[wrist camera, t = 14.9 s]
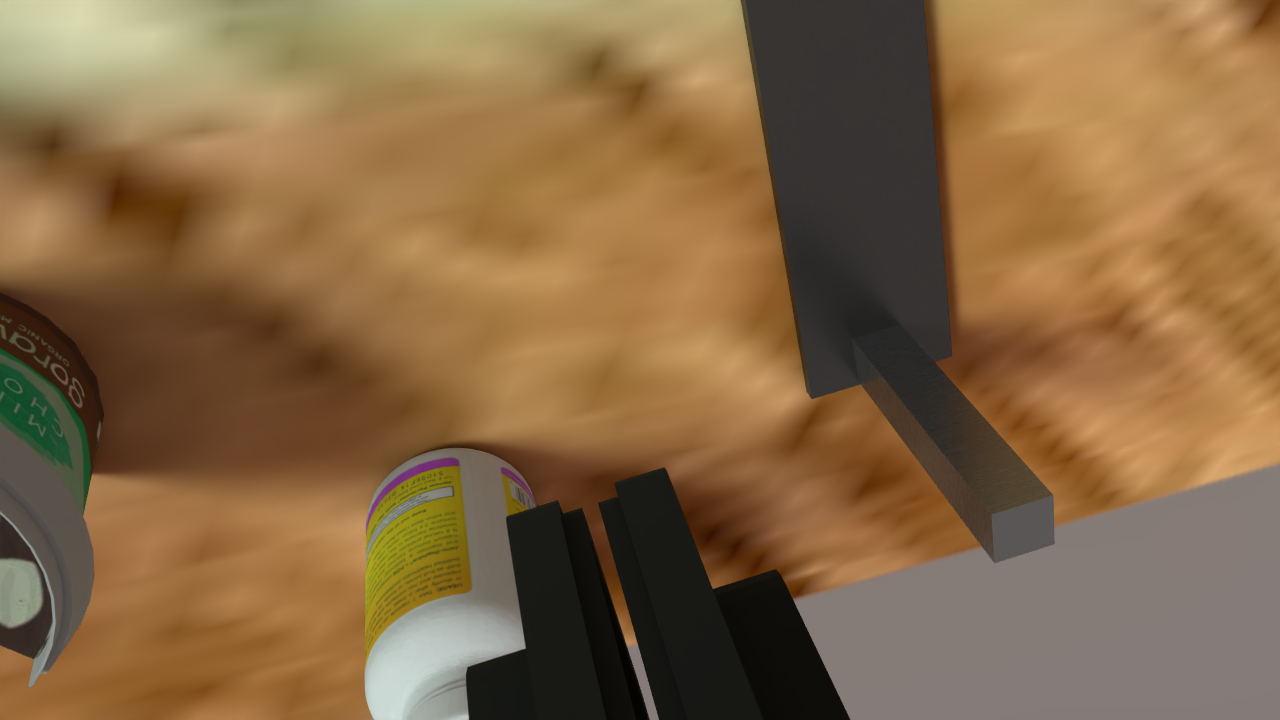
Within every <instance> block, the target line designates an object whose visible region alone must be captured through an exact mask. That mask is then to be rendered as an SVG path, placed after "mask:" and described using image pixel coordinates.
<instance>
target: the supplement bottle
mask: <svg viewBox="0 0 1280 720" xmlns="http://www.w3.org/2000/svg"><path fill="white" fill-rule="evenodd" d="M535 507H536V503H535V500H534V497H533V494H532V491H531V489H530V487H529V485H528V484H527V482H526V481H525V479H524V478H523V477H522V475H521V474H520V473H519V472H518V471H517V470H516V469H515V468H514V467H513V466H511V465H510V464H509V463H507V462H506V461H504V460H502V459H500V458H499V457H496V456H494V455H492V454H489V453H486V452H483V451H479V450H474V449H467V448H445V449H439V450H434V451H430V452H426V453H424V454H421V455H418V456H416V457H414V458H412V459H410V460H408V461H406V462H404V463H403V464H401V465H400V466H398V467H397V468H396V469H394V470H393V471H392V472H391V473H390V474H389V475H388V476H387V477H386V478H385V479H384V480H383V482H382V483H381V484H380V486H379V487H378V488H377V490H376V492H375V494H374V496H373V498H372V500H371V503H370V506H369V510H368V515H367V523H366V586H365V693H366V699H367V703H368V706H369V709H370V712H371V714H372V716H373V718H374V720H469V715H468V703H467V691H466V671H467V667H469V666H472V665H475V664H478V663H481V662H485V661H488V660H491V659H494V658H497V657H500V656H503V655H507V654H510V653H513V652H516V651H519V650H522V649H526V647H525V641H524V634H523V628H522V621H521V615H520V608H519V602H518V596H517V589H516V583H515V576H514V570H513V563H512V557H511V550H510V544H509V538H508V531H507V524H506V516H509V515H512V514H515V513H518V512H522V511H525V510H528V509H531V508H535Z"/></svg>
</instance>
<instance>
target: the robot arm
mask: <svg viewBox="0 0 1280 720" xmlns="http://www.w3.org/2000/svg"><path fill="white" fill-rule="evenodd" d="M615 487H616V491H617V494H618V497H616V498H612V499H609V500H606V501H603V502H599V503H598V504H599V508H600V511H601V515H602V518H603V522H604V525H605V529H606V532H607V536H608V540H609V543H610V547H611V550H612V554H613V557H614V561H615V564H616V568H617V572H618V575H619V579H620V582H621V586H622V589H623V593H624V596H625V600H626V604H627V607H628V611H629V614H630V618H631V621H632V625H633V628H634V632H635V636H636V639H637V643H638V646H639V650H640V653H641V657H642V660H643V664H644V667H645V671H646V674H647V678H648V682H649V685H650V689H651V692H652V696H653V700H654V703H655V706H656V710H657V714H658V717H659V720H850V718H849V716H848V714H847V712H846V710H845V708H844V705H843V704H842V701H841V699H840V697H839V695H838V693H837V691H836V689H835V687H834V685H833V683H832V680H831V678H830V676H829V674H828V672H827V670H826V668H825V666H824V664H823V662H822V659H821V657H820V655H819V653H818V651H817V649H816V647H815V645H814V643H813V641H812V639H811V636H810V635H809V632H808V630H807V628H806V626H805V624H804V622H803V620H802V618H801V616H800V613H799V611H798V609H797V608H796V605H795V603H794V601H793V599H792V597H791V595H790V592H789V590H788V588H787V586H786V584H785V582H784V581H783V579H782V577H781V575H780V573H779V572H778V571H777V570H776V569H775V570H772V571H769V572H766V573H762V574H759V575H756V576H753V577H750V578H747V579H744V580H740V581H737V582H734V583H731V584H728V585H725V586H721V587H718V588H715V589H712V586H711V584H710V581H709V578H708V576H707V573H706V571H705V568H704V566H703V563H702V560H701V558H700V555H699V553H698V550H697V548H696V545H695V542H694V540H693V537H692V535H691V532H690V530H689V527H688V524H687V522H686V519H685V517H684V514H683V512H682V509H681V506H680V504H679V501H678V499H677V496H676V494H675V491H674V488H673V486H672V483H671V481H670V478H669V476H668V473H667V471H666V469H665V467H664V468H661V469H658V470H655V471H651V472H648V473H645V474H642V475H638V476H635V477H632V478H629V479H625V480H622V481H619V482H616V483H615ZM506 524H507V531H508V538H509V544H510V550H511V557H512V563H513V570H514V576H515V583H516V589H517V596H518V602H519V608H520V615H521V621H522V628H523V634H524V641H525V647H526V649H522V650H519V651H516V652H513V653H510V654H507V655H503V656H500V657H497V658H494V659H491V660H488V661H485V662H481V663H478V664H475V665H472V666H469V667H467V671H466V691H467V703H468V715H469V720H649V716H648V713H647V709H646V706H645V702H644V699H643V696H642V692H641V689H640V686H639V683H638V679H637V676H636V673H635V670H634V667H633V664H632V661H631V658H630V655H629V652H628V648H627V645H626V642H625V639H624V636H623V633H622V630H621V627H620V624H619V621H618V617H617V614H616V611H615V608H614V605H613V602H612V599H611V596H610V593H609V590H608V586H607V583H606V580H605V577H604V574H603V571H602V568H601V565H600V562H599V559H598V555H597V552H596V549H595V546H594V543H593V540H592V537H591V534H590V531H589V528H588V524H587V521H586V518H585V515H584V512H583V510H582V508H580V509H577V510H574V511H570V512H567V513H564V514H563V513H562V510H561V507H560V505H559V502H558V501H554V502H551V503H548V504H544V505H541V506H538V507H535V508H531V509H528V510H525V511H522V512H518V513H515V514H512V515H509V516H506Z"/></svg>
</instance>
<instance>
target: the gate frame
mask: <svg viewBox="0 0 1280 720" xmlns="http://www.w3.org/2000/svg"><path fill="white" fill-rule="evenodd" d="M741 4H742V10H743V16H744V22H745V28H746V34H747V40H748V46H749V52H750V58H751V63H752V69H753V75H754V81H755V87H756V93H757V99H758V105H759V111H760V117H761V123H762V129H763V135H764V141H765V147H766V153H767V159H768V165H769V171H770V176H771V182H772V188H773V194H774V200H775V206H776V212H777V218H778V224H779V230H780V236H781V242H782V248H783V254H784V260H785V266H786V272H787V278H788V284H789V290H790V295H791V301H792V307H793V313H794V319H795V325H796V331H797V337H798V343H799V349H800V355H801V361H802V367H803V373H804V379H805V385H806V391H807V393H808V394H809V396H810V397H811V399H814V398H817V397H820V396H824V395H827V394H830V393H833V392H837V391H840V390H843V389H846V388H850V387H853V386H856V385H859V384H861V385H862V386H863V388H864V389H865V390H866V392H867V393H868V394H869V396H870V397H871V399H872V400H873V401H874V403H875V404H876V405H877V407H878V408H879V409H880V411H881V412H882V413H883V415H884V416H885V417H886V419H887V420H888V421H889V423H890V424H891V425H892V427H893V428H894V429H895V431H896V432H897V433H898V435H899V436H900V437H901V439H902V440H903V441H904V443H905V444H906V445H907V447H908V448H909V449H910V451H911V452H912V453H913V455H914V456H915V457H916V459H917V460H918V461H919V463H920V464H921V465H922V467H923V468H924V469H925V471H926V472H927V474H928V475H929V476H930V478H931V479H932V480H933V482H934V483H935V484H936V486H937V487H938V488H939V490H940V491H941V492H942V494H943V495H944V496H945V498H946V499H947V500H948V502H949V503H950V504H951V506H952V507H953V508H954V510H955V511H956V512H957V514H958V515H959V516H960V518H961V519H962V520H963V522H964V523H965V524H966V526H967V527H968V528H969V530H970V531H971V532H972V534H973V535H974V536H975V538H976V539H977V540H978V542H979V543H980V544H981V546H982V547H983V549H984V550H985V551H986V552H987V554H988V555H989V557H990V558H991V559H992V560H993V562H994V563H997V562H999V561H1003V560H1006V559H1009V558H1012V557H1015V556H1019V555H1022V554H1025V553H1028V552H1031V551H1034V550H1037V549H1040V548H1043V547H1047V546H1050V545H1053V544H1054V506H1053V494H1052V493H1051V492H1050V491H1049V490H1048V489H1047V488H1046V486H1045V485H1044V484H1043V483H1042V482H1041V481H1040V480H1039V479H1038V478H1037V476H1036V475H1035V474H1034V473H1033V472H1032V471H1031V470H1030V469H1029V467H1028V466H1027V465H1026V464H1025V463H1024V462H1023V461H1022V460H1021V459H1020V457H1019V456H1018V455H1017V454H1016V453H1015V452H1014V451H1013V450H1012V448H1011V447H1010V446H1009V445H1008V444H1007V443H1006V442H1005V441H1004V439H1003V438H1002V437H1001V436H1000V435H999V434H998V433H997V432H996V431H995V429H994V428H993V427H992V426H991V425H990V424H989V423H988V422H987V420H986V419H985V418H984V417H983V416H982V415H981V414H980V413H979V411H978V410H977V409H976V408H975V407H974V406H973V405H972V404H971V403H970V401H969V400H968V399H967V398H966V397H965V396H964V395H963V394H962V392H961V391H960V390H959V389H958V388H957V387H956V386H955V385H954V383H953V382H952V381H951V380H950V379H949V378H948V377H947V376H946V375H945V373H944V372H943V371H942V370H941V369H940V368H939V367H938V366H937V364H936V363H935V362H934V361H937V360H941V359H944V358H947V357H951V356H952V349H951V336H950V324H949V312H948V299H947V287H946V274H945V262H944V250H943V237H942V225H941V212H940V200H939V188H938V175H937V163H936V151H935V138H934V126H933V113H932V101H931V89H930V76H929V64H928V52H927V39H926V27H925V14H924V2H923V0H741Z"/></svg>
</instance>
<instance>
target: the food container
mask: <svg viewBox="0 0 1280 720" xmlns="http://www.w3.org/2000/svg"><path fill="white" fill-rule="evenodd" d="M103 416H104V413H103V408H102V403H101V398H100V393H99V388H98V383H97V379H96V376H95V375H94V373H93V371H92V370H91V368H90V367H89V365H88V363H87V362H86V360H85V359H84V357H83V355H82V354H81V352H80V351H79V349H78V347H77V346H76V344H75V342H74V341H72V340H71V339H70V338H69V337H68V336H67V335H66V334H65V333H63V332H62V331H61V330H60V329H59V328H58V327H57V326H56V325H55V324H53V323H52V322H51V321H50V320H49V319H48V318H47V317H45V316H43V315H42V314H40V313H39V312H37V311H35V310H34V309H32V308H31V307H29V306H28V305H26V304H24V303H21V302H19V301H17V300H15V299H13V298H11V297H9V296H6V295H4V294H1V293H0V645H1V646H3V647H6V648H8V649H11V650H13V651H15V652H18V653H20V654H23V655H25V656H27V657H30V658H32V659H34V663H33V668H32V673H31V677H30V682H29V687H32V685H33V684H34V682H35V681H36V679H37V678H38V676H39V675H40V673H43V674H47V672H48V671H49V669H50V668H51V667H52V665H53V664H54V663H55V661H56V660H57V658H58V657H59V656H60V654H61V653H62V651H63V650H64V649H65V647H66V646H67V644H68V643H69V641H70V640H71V638H72V637H73V635H74V634H75V632H76V630H77V629H78V627H79V626H80V624H81V622H82V619H83V617H84V614H85V612H86V609H87V607H88V605H89V602H90V598H91V592H92V586H93V580H94V560H93V548H92V544H91V540H90V537H89V533H88V529H87V526H86V522H85V520H84V518H83V514H84V509H85V504H86V500H87V495H88V490H89V485H90V480H91V476H92V471H93V466H94V461H95V456H96V452H97V447H98V442H99V437H100V432H101V427H102V421H103Z"/></svg>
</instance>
